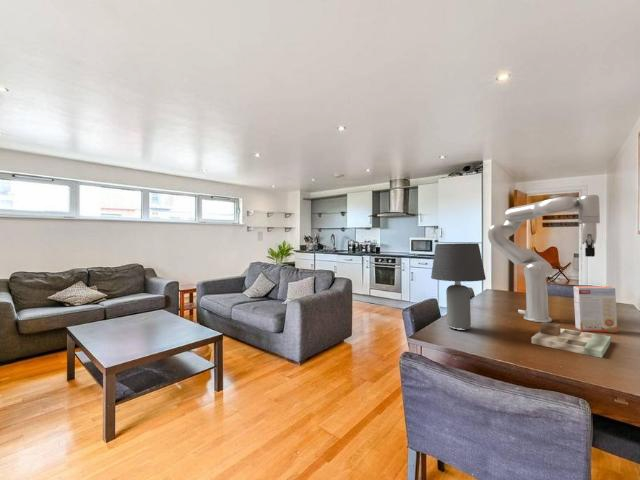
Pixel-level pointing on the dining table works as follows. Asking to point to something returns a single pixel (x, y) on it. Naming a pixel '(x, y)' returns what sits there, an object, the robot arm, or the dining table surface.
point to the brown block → (550, 328)
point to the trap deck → (575, 342)
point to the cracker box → (595, 309)
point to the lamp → (458, 278)
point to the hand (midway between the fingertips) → (590, 255)
